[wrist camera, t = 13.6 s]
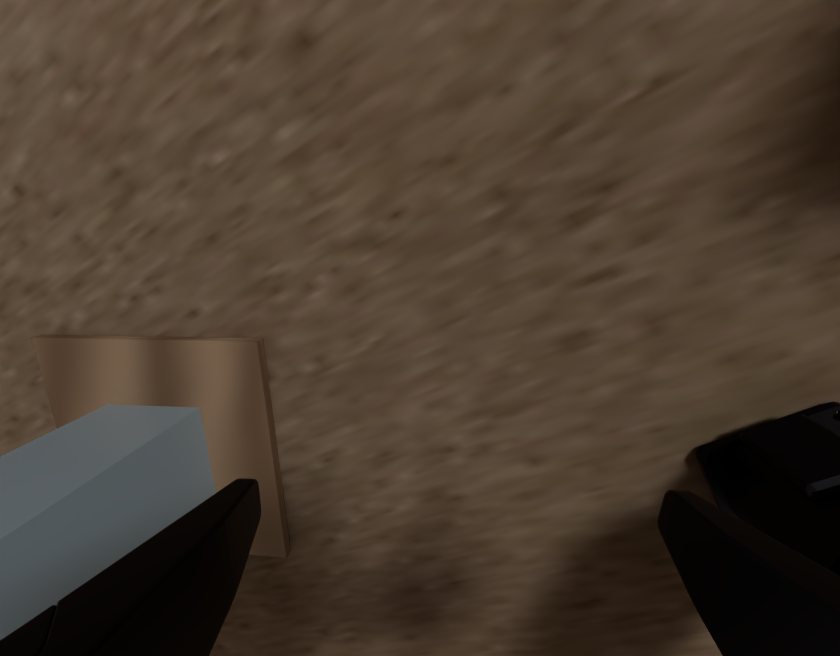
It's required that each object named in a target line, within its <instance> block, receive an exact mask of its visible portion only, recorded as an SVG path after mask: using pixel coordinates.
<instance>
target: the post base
mask: <svg viewBox="0 0 840 656" xmlns="http://www.w3.org/2000/svg"><path fill="white" fill-rule="evenodd" d="M31 339H32V342H33V346H34V349H35V353H36V356H37V360H38V363H39V367H40V370H41V374H42V377H43V381H44V384H45V388H46V391H47V395H48V398H49V402H50V405H51V409H52V412H53V416H54V419H55V423H56V426H57V429H58V428H60V427H62V426H64V425H66V424H68V423H70V422H72V421H74V420H76V419H78V418H80V417H82V416H84V415H86V414H88V413H90V412H92V411H95V410H97V409H99V408H101V407H103V406H105V405H107V404H111V405H140V406H170V407H199V408H200V412H201V417H202V423H203V428H204V433H205V438H206V444H207V449H208V454H209V459H210V465H211V470H212V475H213V480H214V486H215V491H216V493H217V492H218V491H220V490H221V489H222V488H224V487H225V486H227V485H228V484H230V483H231V482H233V481H234V480H236V479H238V478H251V479H256V480H257V481H258V484H259V491H260V501H261V518H260V522H259V525H258V528H257V531H256V534H255V537H254V540H253V543H252V546H251V549H250V553H249V555H257V556H268V557H278V558H287V556H288V554H289V553H290V551H291V550H290V542H289V535H288V527H287V519H286V512H285V504H284V496H283V489H282V481H281V473H280V466H279V458H278V451H277V443H276V435H275V428H274V420H273V412H272V405H271V397H270V389H269V382H268V374H267V367H266V359H265V351H264V344H263V338H205V337H139V336H74V335H40V336H36V337H33V338H31Z"/></svg>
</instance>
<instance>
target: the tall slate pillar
mask: <svg viewBox="0 0 840 656" xmlns="http://www.w3.org/2000/svg"><path fill="white" fill-rule="evenodd" d="M215 493H216V491H215V486H214V480H213V475H212V470H211V465H210V459H209V454H208V449H207V444H206V438H205V433H204V428H203V423H202V417H201V412H200V408H199V407H170V406H140V405H111V404H107V405H105V406H103V407H101V408H99V409H97V410H95V411H92V412H90V413H88V414H86V415H84V416H82V417H80V418H78V419H76V420H74V421H72V422H70V423H68V424H66V425H64V426H62V427H60V428H58V429H56V430H54V431H51V432H49V433H47V434H45V435H43V436H41V437H39V438H37V439H35V440H33V441H31V442H29V443H27V444H25V445H23V446H21V447H19V448H17V449H15V450H13V451H10V452H8V453H6V454H4V455H2V456H0V640H1V639H3V638H4V637H6V636H7V635H9V634H10V633H12V632H13V631H15V630H16V629H18V628H19V627H21V626H22V625H24V624H25V623H27V622H28V621H30V620H31V619H33V618H34V617H35V616H37V615H38V614H40V613H41V612H43V611H44V610H46V609H47V608H49V607H50V606H52V605H57V603H58V601H59V600H60V599H62V598H63V597H65V596H66V595H68V594H69V593H71V592H72V591H74V590H75V589H77V588H78V587H79V586H81V585H82V584H84V583H85V582H87V581H88V580H90V579H91V578H93V577H94V576H96V575H97V574H98V573H100V572H101V571H103V570H104V569H106V568H107V567H109V566H110V565H112V564H113V563H114V562H116V561H117V560H119V559H120V558H122V557H123V556H125V555H126V554H128V553H129V552H131V551H132V550H133V549H135V548H136V547H138V546H139V545H141V544H142V543H144V542H145V541H147V540H148V539H149V538H151V537H152V536H154V535H155V534H157V533H158V532H160V531H161V530H163V529H164V528H166V527H167V526H168V525H170V524H171V523H173V522H174V521H176V520H177V519H179V518H180V517H182V516H183V515H185V514H186V513H187V512H189V511H190V510H192V509H193V508H195V507H196V506H198V505H199V504H201V503H202V502H203V501H205V500H206V499H208V498H209V497H211V496H212V495H214V494H215Z"/></svg>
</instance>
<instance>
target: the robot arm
mask: <svg viewBox="0 0 840 656" xmlns="http://www.w3.org/2000/svg"><path fill="white" fill-rule="evenodd" d="M837 411H838V413H837V415H835V416H833V415H834V413H835V412H837ZM709 454H713V455H712V457H710V458H707V459H706V457H707V456H708V455H709ZM696 457H697V460H698V462H699V464H700V466H701V469H702V471H703V473H704V476H705V478H706V480H707V482H708V485H709V487H710V489H711V491H712V494H713V496H714V498H715V501H716V503H717V505H718V507H719V508H718V507H716V506H715V505H713V504H711V503H709V502H707V501H706V500H704V499H702V498H700V497H699V496H697V495H695V494H693V493H692V492H690V491H687V490H669V491H667V492H666V493H665V495H664V499H663V502H662V506H661V509H660V513H659V516H658V528H659V531H660V533H661V535H662V538H663V540H664V542H665V544H666V546H667V548H668V551H669V553H670V555H671V557H672V559H673V561H674V564H675V566H676V568H677V570H678V572H679V574H680V577H681V579H682V581H683V583H684V585H685V587H686V589H687V592H688V594H689V596H690V598H691V600H692V602H693V604H694V606H695V607H696V609H697V611H698V613H699V615H700V617H701V618H702V620H703V622H704V624H705V626H706V627H707V629H708V631H709V633H710V634H711V636H712V638H713V640H714V641H715V643H716V645H717V647H718V648H719V650H720V652H721V654H722V655H723V656H840V403H838V402H829V403H826V404H823V405H820V406H817V407H815V408H812V409H809V410H806V411H803V412H800V413H797V414H794V415H791V416H788V417H785V418H782V419H779V420H776V421H773V422H771V423H768V424H765V425H762V426H759V427H756V428H753V429H750V430H747V431H744V432H742V433H739V434H736V435H733V436H730V437H727V438H724V439H721V440H718V441H716V442H713V443H710V444H707V445H704V446H702V447H700V448H699V449H698V450H697V452H696ZM260 518H261V501H260V491H259V484H258V481H257V480H256V479H251V478H238V479H236V480H234V481H233V482H231V483H230V484H228V485H227V486H225V487H224V488H222V489H221V490H220V491H218V492H217V493H215V494H214V495H212V496H211V497H209V498H208V499H206V500H205V501H203V502H202V503H201V504H199V505H198V506H196V507H195V508H193V509H192V510H190V511H189V512H187V513H186V514H185V515H183V516H182V517H180V518H179V519H177V520H176V521H174V522H173V523H171V524H170V525H168V526H167V527H166V528H164V529H163V530H161V531H160V532H158V533H157V534H155V535H154V536H152V537H151V538H149V539H148V540H147V541H145V542H144V543H142V544H141V545H139V546H138V547H136V548H135V549H133V550H132V551H131V552H129V553H128V554H126V555H125V556H123V557H122V558H120V559H119V560H117V561H116V562H114V563H113V564H112V565H110V566H109V567H107V568H106V569H104V570H103V571H101V572H100V573H98V574H97V575H96V576H94V577H93V578H91V579H90V580H88V581H87V582H85V583H84V584H82V585H81V586H79V587H78V588H77V589H75V590H74V591H72V592H71V593H69V594H68V595H66V596H65V597H63V598H62V599H60V600H59V601H58V603H57V605H52V606H50V607H49V608H47V609H46V610H44V611H43V612H41V613H40V614H38V615H37V616H35V617H34V618H33V619H31V620H30V621H28V622H27V623H25V624H24V625H22V626H21V627H19V628H18V629H16V630H15V631H13V632H12V633H10V634H9V635H7V636H6V637H4V638H3V639H1V640H0V656H209V655H210V652H211V650H212V648H213V645H214V643H215V641H216V639H217V636H218V634H219V632H220V629H221V627H222V625H223V623H224V620H225V618H226V616H227V614H228V611H229V609H230V607H231V604H232V602H233V599H234V597H235V595H236V592H237V589H238V586H239V583H240V580H241V577H242V574H243V571H244V568H245V565H246V562H247V559H248V556H249V553H250V549H251V546H252V543H253V540H254V537H255V534H256V531H257V528H258V525H259V522H260Z"/></svg>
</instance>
